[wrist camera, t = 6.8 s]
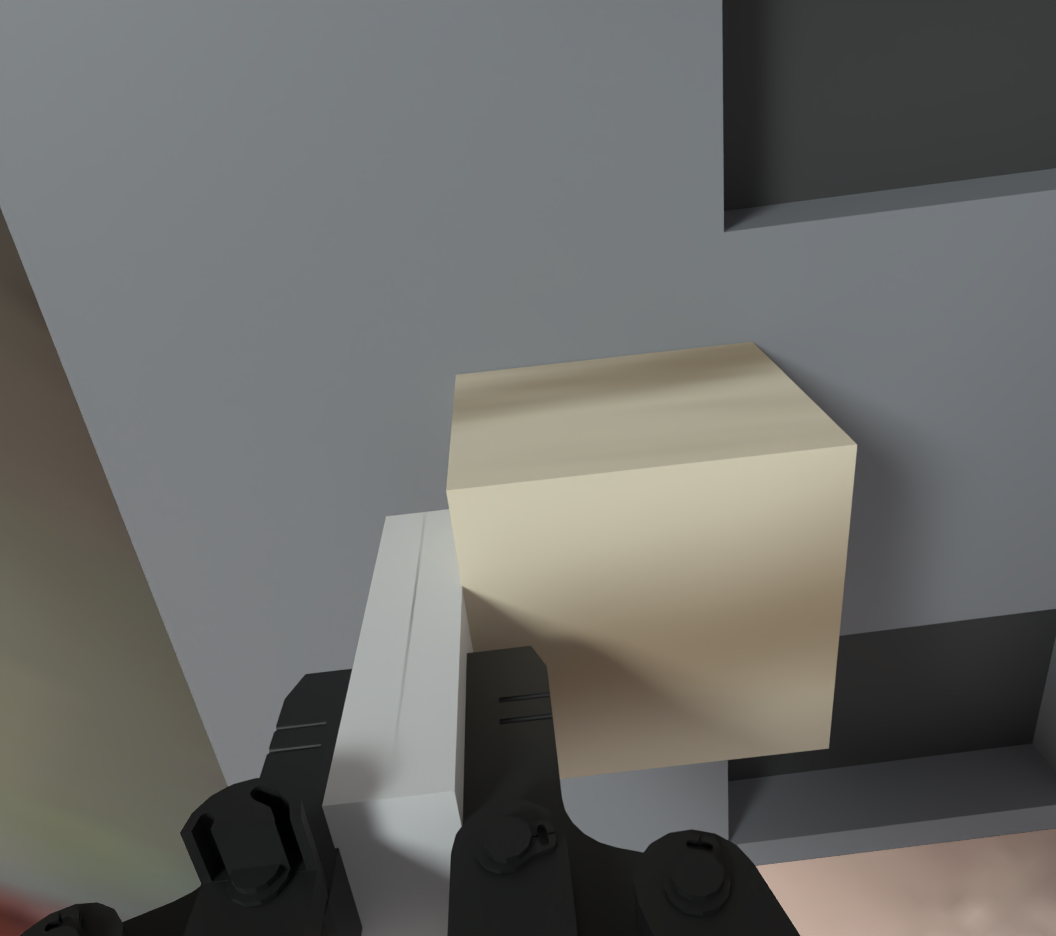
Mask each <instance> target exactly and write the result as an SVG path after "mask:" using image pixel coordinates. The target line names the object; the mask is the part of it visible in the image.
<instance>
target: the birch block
mask: <svg viewBox="0 0 1056 936" xmlns="http://www.w3.org/2000/svg"><path fill="white" fill-rule="evenodd" d="M856 453H857V444H856V443H855V442H854V441H853V440H852V439H851V438H850V437H849V436H848V435H847V434H846V433H845V432H844V431H843V430H842V429H841V428H840V427H839V426H838V425H837V424H836V423H835V422H834V421H833V420H832V419H831V418H830V417H829V416H828V415H827V414H826V413H825V412H824V411H823V410H822V409H821V408H820V407H819V406H818V405H817V404H816V403H814V402H813V401H812V400H811V399H810V398H809V397H808V396H807V395H806V394H805V393H804V392H803V391H802V390H801V389H800V388H799V387H798V386H797V385H796V384H795V383H794V382H793V381H792V380H791V379H790V378H789V377H788V376H787V375H786V374H785V373H784V372H783V371H782V370H781V369H780V368H779V367H778V366H777V365H776V364H775V363H774V362H773V361H772V360H771V359H770V358H769V357H768V356H767V355H765V354H764V353H763V352H762V351H761V350H760V349H759V348H758V347H757V346H756V345H755V344H754V343H753V342H745V343H736V344H727V345H718V346H709V347H700V348H691V349H682V350H673V351H664V352H655V353H646V354H637V355H628V356H619V357H610V358H601V359H592V360H583V361H574V362H565V363H556V364H547V365H538V366H529V367H520V368H511V369H502V370H493V371H484V372H475V373H466V374H457V375H456V380H455V391H454V403H453V415H452V427H451V439H450V451H449V462H448V474H447V486H446V493H447V499H448V505H449V511H450V517H451V523H452V530H453V536H454V542H455V548H456V554H457V560H458V566H459V572H460V578H461V585H462V589H463V594H464V600H465V606H466V612H467V618H468V624H469V630H470V636H471V642H472V648H473V652H481V651H490V650H498V649H507V648H515V647H524V646H532V648H533V649H534V650H535V652H536V653H537V654H538V655H539V657H540V658H541V659H542V661H543V662H544V663H545V664H546V666H547V672H548V680H549V689H550V697H551V706H552V714H553V723H554V731H555V740H556V749H557V757H558V766H559V775H560V779H564V778H573V777H582V776H591V775H600V774H608V773H617V772H626V771H635V770H644V769H653V768H661V767H670V766H679V765H688V764H697V763H705V762H714V761H723V760H732V759H741V758H750V757H758V756H767V755H776V754H785V753H794V752H802V751H811V750H820V749H829V741H830V730H831V720H832V709H833V698H834V688H835V677H836V666H837V656H838V645H839V634H840V624H841V613H842V602H843V592H844V581H845V570H846V560H847V549H848V538H849V528H850V517H851V506H852V496H853V485H854V474H855V464H856Z"/></svg>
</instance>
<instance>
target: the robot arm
mask: <svg viewBox="0 0 1056 936" xmlns="http://www.w3.org/2000/svg"><path fill="white" fill-rule="evenodd" d="M180 834H181V836H182V839H183V841H184V843H185V846H186V848H187V850H188V853H189V855H190V858H191V860H192V862H193V865H194V867H195V869H196V872H197V874H198V877H199V879H200V881H201V886H200V887H199V888H197V889H196V890H195V891H193V892H192V893H190V894H188V895H186V896H184V897H182V898H180V899H178V900H176V901H174V902H172V903H169V904H167V905H164V906H162V907H159V908H157V909H154V910H152V911H149V912H147V913H144V914H142V915H139V916H137V917H134V918H132V919H129V920H127V921H125V922H122V921H121V919H120V918H119V916H118V914H117V913H116V911H115V910H114V909H113V908H110V907H108V906H105V905H103V904H100V903H85V904H75V905H72V906H70V907H67V908H64V909H62V910H59V911H57V912H54V913H52V914H49V915H48V916H46V917H45V918H44V919H42V920H41V921H39V922H38V923H36V924H35V925H33V926H32V927H30V928H29V929H27V930H26V931H24V933H23V934H22V935H21V936H800V935H799V933H798V931H797V930H796V928H795V927H794V925H793V924H792V922H791V921H790V919H789V917H788V916H787V914H786V913H785V911H784V910H783V908H782V907H781V905H780V904H779V902H778V900H777V899H776V897H775V896H774V894H773V893H772V891H771V890H770V888H769V886H768V885H767V883H766V882H765V880H764V879H763V877H762V876H761V874H760V873H759V871H758V869H757V868H756V866H755V865H754V863H753V862H752V861H751V860H750V859H749V858H748V857H747V855H746V854H745V853H744V852H743V851H742V850H741V849H740V848H739V847H738V846H737V845H736V844H734V843H732V842H730V841H728V840H727V839H725V838H723V837H721V836H719V835H717V834H715V833H710V832H704V831H699V830H693V829H690V830H684V831H677V832H671V833H668V834H666V835H664V836H663V837H661V838H659V839H657V840H656V841H654V842H652V843H650V845H649V846H648V847H647V849H646V850H645V851H644V852H639V851H633V850H628V849H622V848H617V847H614V846H610V845H607V844H604V843H600V842H598V841H596V840H595V839H593V838H591V837H589V836H587V835H586V834H584V833H583V832H582V831H581V830H580V829H579V828H578V827H577V826H576V825H575V824H574V823H573V822H572V821H571V819H570V817H569V816H568V814H567V812H566V811H565V807H564V804H563V800H562V793H561V784H560V775H559V766H558V757H557V749H556V740H555V731H554V723H553V714H552V706H551V697H550V689H549V680H548V672H547V666H546V664H545V663H544V662H543V661H542V659H541V658H540V657H539V655H538V654H537V653H536V652H535V650H534V649H533V648H532V646H524V647H515V648H507V649H498V650H490V651H481V652H473V648H472V642H471V636H470V630H469V624H468V618H467V612H466V606H465V600H464V594H463V589H462V585H461V578H460V572H459V566H458V560H457V554H456V548H455V542H454V536H453V530H452V523H451V517H450V511H449V509H446V510H438V511H429V512H420V513H411V514H403V515H394V516H386V518H385V523H384V528H383V532H382V537H381V541H380V546H379V550H378V555H377V559H376V564H375V568H374V573H373V577H372V582H371V586H370V591H369V596H368V600H367V605H366V609H365V614H364V618H363V623H362V627H361V632H360V636H359V641H358V645H357V650H356V655H355V659H354V664H353V668H352V669H345V670H336V671H328V672H319V673H310V674H305V675H304V676H303V678H302V679H301V680H300V681H299V682H298V684H297V685H296V686H295V687H294V688H293V690H292V691H291V692H290V693H289V694H288V696H287V697H286V698H285V699H284V702H283V706H282V709H281V712H280V715H279V718H278V721H277V724H276V731H274V734H273V737H272V740H271V743H270V746H269V754H267V756H266V759H265V762H264V765H263V768H262V771H261V774H260V778H254V779H250V780H247V781H243V782H239V783H235V784H232V785H230V786H229V787H227V788H225V789H223V790H221V791H219V792H218V793H216V794H214V795H212V796H211V797H209V798H208V799H207V800H206V801H205V802H204V803H203V804H202V805H201V806H200V807H198V808H197V809H196V810H195V811H194V812H193V813H192V814H191V816H190V818H189V819H188V821H187V822H186V824H185V826H184V827H183V829H182V831H181V832H180Z"/></svg>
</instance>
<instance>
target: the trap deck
mask: <svg viewBox="0 0 1056 936" xmlns="http://www.w3.org/2000/svg"><path fill="white" fill-rule="evenodd" d="M0 207H1V210H2V212H3V215H4V217H5V220H6V222H7V225H8V228H9V230H10V233H11V235H12V238H13V240H14V243H15V245H16V248H17V250H18V253H19V256H20V258H21V261H22V263H23V266H24V268H25V271H26V273H27V276H28V278H29V281H30V284H31V286H32V289H33V291H34V294H35V296H36V299H37V301H38V304H39V306H40V309H41V312H42V314H43V317H44V319H45V322H46V324H47V327H48V329H49V332H50V334H51V337H52V340H53V342H54V345H55V347H56V350H57V352H58V355H59V357H60V360H61V362H62V365H63V368H64V370H65V373H66V375H67V378H68V380H69V383H70V385H71V388H72V390H73V393H74V396H75V398H76V401H77V403H78V406H79V408H80V411H81V413H82V416H83V418H84V421H85V424H86V426H87V429H88V431H89V434H90V436H91V439H92V441H93V444H94V446H95V449H96V452H97V454H98V457H99V459H100V462H101V464H102V467H103V469H104V472H105V474H106V477H107V480H108V482H109V485H110V487H111V490H112V492H113V495H114V497H115V500H116V502H117V505H118V508H119V510H120V513H121V515H122V518H123V520H124V523H125V525H126V528H127V531H128V533H129V536H130V538H131V541H132V543H133V546H134V548H135V551H136V553H137V556H138V559H139V561H140V564H141V566H142V569H143V571H144V574H145V576H146V579H147V581H148V584H149V587H150V589H151V592H152V594H153V597H154V599H155V602H156V604H157V607H158V609H159V612H160V615H161V617H162V620H163V622H164V625H165V627H166V630H167V632H168V635H169V637H170V640H171V643H172V645H173V648H174V650H175V653H176V655H177V658H178V660H179V663H180V665H181V668H182V671H183V673H184V676H185V678H186V681H187V683H188V686H189V688H190V691H191V693H192V696H193V699H194V701H195V704H196V706H197V709H198V711H199V714H200V716H201V719H202V721H203V724H204V727H205V729H206V732H207V734H208V737H209V739H210V742H211V744H212V747H213V749H214V752H215V755H216V757H217V760H218V762H219V765H220V767H221V770H222V772H223V775H224V777H225V780H226V783H227V785H228V787H229V786H230V785H232V784H235V783H239V782H243V781H247V780H250V779H254V778H260V774H261V771H262V768H263V765H264V762H265V759H266V756H267V754H269V746H270V743H271V740H272V737H273V734H274V731H276V724H277V721H278V718H279V715H280V712H281V709H282V706H283V702H284V699H285V698H286V697H287V696H288V694H289V693H290V692H291V691H292V690H293V688H294V687H295V686H296V685H297V684H298V682H299V681H300V680H301V679H302V678H303V676H304V675H305V674H310V673H319V672H328V671H336V670H345V669H352V668H353V664H354V659H355V655H356V650H357V645H358V641H359V636H360V632H361V627H362V623H363V618H364V614H365V609H366V605H367V600H368V596H369V591H370V586H371V582H372V577H373V573H374V568H375V564H376V559H377V555H378V550H379V546H380V541H381V537H382V532H383V528H384V523H385V518H386V516H394V515H403V514H411V513H420V512H429V511H438V510H446V509H449V505H448V499H447V493H446V486H447V474H448V462H449V451H450V439H451V427H452V415H453V403H454V391H455V380H456V375H457V374H466V373H475V372H484V371H493V370H502V369H511V368H520V367H529V366H538V365H547V364H556V363H565V362H574V361H583V360H592V359H601V358H610V357H619V356H628V355H637V354H646V353H655V352H664V351H673V350H682V349H691V348H700V347H709V346H718V345H727V344H736V343H745V342H753V343H754V344H755V345H756V346H757V347H758V348H759V349H760V350H761V351H762V352H763V353H764V354H765V355H767V356H768V357H769V358H770V359H771V360H772V361H773V362H774V363H775V364H776V365H777V366H778V367H779V368H780V369H781V370H782V371H783V372H784V373H785V374H786V375H787V376H788V377H789V378H790V379H791V380H792V381H793V382H794V383H795V384H796V385H797V386H798V387H799V388H800V389H801V390H802V391H803V392H804V393H805V394H806V395H807V396H808V397H809V398H810V399H811V400H812V401H813V402H814V403H816V404H817V405H818V406H819V407H820V408H821V409H822V410H823V411H824V412H825V413H826V414H827V415H828V416H829V417H830V418H831V419H832V420H833V421H834V422H835V423H836V424H837V425H838V426H839V427H840V428H841V429H842V430H843V431H844V432H845V433H846V434H847V435H848V436H849V437H850V438H851V439H852V440H853V441H854V442H855V443H856V444H857V453H856V464H855V474H854V485H853V496H852V506H851V517H850V528H849V538H848V549H847V560H846V570H845V581H844V592H843V602H842V613H841V624H840V634H839V645H838V656H837V666H836V677H835V688H834V698H833V709H832V720H831V730H830V741H829V749H820V750H811V751H802V752H794V753H785V754H776V755H767V756H758V757H750V758H741V759H732V760H723V761H714V762H705V763H697V764H688V765H679V766H670V767H661V768H653V769H644V770H635V771H626V772H617V773H608V774H600V775H591V776H582V777H573V778H564V779H560V784H561V793H562V800H563V804H564V807H565V811H566V812H567V814H568V816H569V817H570V819H571V821H572V822H573V823H574V824H575V825H576V826H577V827H578V828H579V829H580V830H581V831H582V832H583V833H584V834H586V835H587V836H589V837H591V838H593V839H595V840H596V841H598V842H600V843H604V844H607V845H610V846H614V847H617V848H622V849H628V850H633V851H639V852H644V851H645V850H646V849H647V847H648V846H649V845H650V843H652V842H654V841H656V840H657V839H659V838H661V837H663V836H664V835H666V834H668V833H671V832H677V831H684V830H690V829H693V830H699V831H704V832H710V833H715V834H717V835H719V836H721V837H723V838H725V839H727V840H728V841H730V842H732V843H734V844H736V845H737V846H738V847H739V848H740V849H741V850H742V851H743V852H744V853H745V854H746V855H747V857H748V858H749V859H750V860H751V861H752V862H753V863H754V865H755V866H758V865H766V864H774V863H782V862H790V861H798V860H806V859H815V858H823V857H831V856H839V855H847V854H855V853H863V852H871V851H879V850H887V849H895V848H903V847H911V846H919V845H927V844H935V843H944V842H952V841H960V840H968V839H976V838H984V837H992V836H1000V835H1008V834H1016V833H1024V832H1032V831H1040V830H1048V829H1056V0H0Z"/></svg>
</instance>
